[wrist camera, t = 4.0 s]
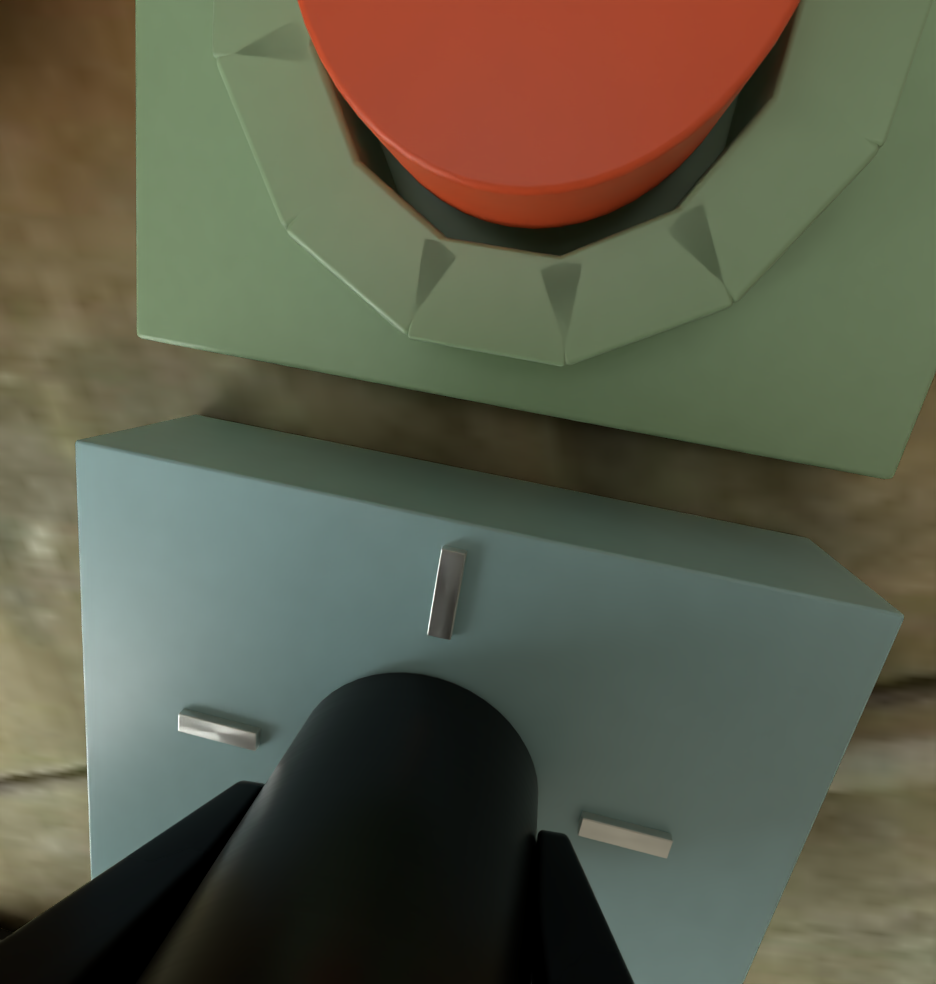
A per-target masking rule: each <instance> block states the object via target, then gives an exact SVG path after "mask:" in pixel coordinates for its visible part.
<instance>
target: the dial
mask: <svg viewBox="0 0 936 984" xmlns="http://www.w3.org/2000/svg"><path fill="white" fill-rule="evenodd" d="M537 816H538V782H537V775H536V771H535V767H534V763H533V761H532V759H531V756H530V754H529V751H528V749H527V747H526V746H525V744H524V742H523V740H522V739H521V737H520V735H519V734H518V733H517V731H516V730H515V729H514V727H513V726H512V725H511V723H510V722H509V721H508V720H507V719H506V718H505V717H504V716H503V715H502V714H501V713H500V712H499V711H498V710H497V709H496V708H494V707H493V706H492V705H491V704H489V703H488V702H487V701H486V700H484V699H483V698H481V697H479V696H478V695H476V694H475V693H473V692H471V691H470V690H468V689H465V688H463V687H461V686H459V685H457V684H455V683H452V682H449V681H446V680H443V679H441V678H437V677H433V676H428V675H424V674H416V673H407V672H394V673H382V674H375V675H371V676H367V677H363V678H360V679H357V680H355V681H352V682H350V683H348V684H345V685H343V686H342V687H340V688H338V689H337V690H335V691H333V692H332V693H331V694H329V695H328V696H327V697H326V698H325V699H323V700H322V701H321V702H320V703H319V704H318V706H317V707H316V708H315V709H314V710H313V711H312V713H311V714H310V716H309V717H308V719H307V720H306V722H305V724H304V725H303V727H302V728H301V730H300V731H299V733H298V734H297V736H296V737H295V739H294V740H293V742H292V744H291V745H290V747H289V748H288V750H287V751H286V753H285V754H284V756H283V757H282V759H281V760H280V762H279V764H278V765H277V767H276V768H275V770H274V771H273V773H272V774H271V776H270V777H269V779H268V780H267V782H266V784H265V785H264V787H263V788H262V790H261V791H260V793H259V794H258V796H257V797H256V799H255V801H254V802H253V804H252V805H251V807H250V808H249V810H248V811H247V813H246V814H245V816H244V817H243V819H242V821H241V822H240V824H239V825H238V827H237V828H236V830H235V831H234V833H233V834H232V836H231V837H230V839H229V841H228V842H227V844H226V845H225V847H224V848H223V850H222V851H221V853H220V854H219V856H218V858H217V859H216V861H215V862H214V864H213V865H212V867H211V868H210V870H209V871H208V873H207V874H206V876H205V878H204V879H203V881H202V882H201V884H200V885H199V887H198V888H197V890H196V891H195V893H194V894H193V896H192V898H191V899H190V901H189V902H188V904H187V905H186V907H185V908H184V910H183V911H182V913H181V915H180V916H179V918H178V919H177V921H176V922H175V924H174V925H173V927H172V928H171V930H170V931H169V933H168V935H167V936H166V938H165V939H164V941H163V942H162V944H161V945H160V947H159V948H158V950H157V951H156V953H155V955H154V956H153V958H152V959H151V961H150V962H149V964H148V965H147V967H146V968H145V970H144V971H143V973H142V975H141V976H140V978H139V979H138V981H137V982H136V984H531V972H532V946H533V914H534V889H535V863H536V842H537Z"/></svg>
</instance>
